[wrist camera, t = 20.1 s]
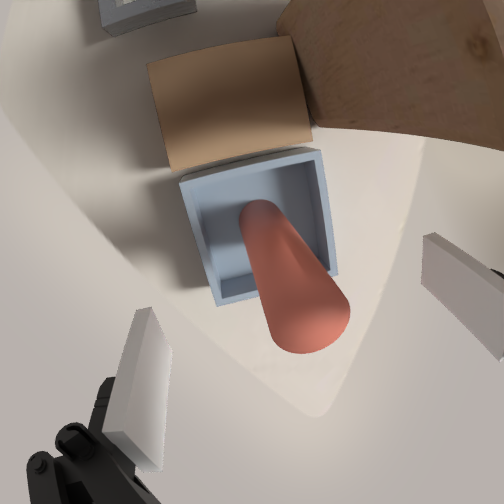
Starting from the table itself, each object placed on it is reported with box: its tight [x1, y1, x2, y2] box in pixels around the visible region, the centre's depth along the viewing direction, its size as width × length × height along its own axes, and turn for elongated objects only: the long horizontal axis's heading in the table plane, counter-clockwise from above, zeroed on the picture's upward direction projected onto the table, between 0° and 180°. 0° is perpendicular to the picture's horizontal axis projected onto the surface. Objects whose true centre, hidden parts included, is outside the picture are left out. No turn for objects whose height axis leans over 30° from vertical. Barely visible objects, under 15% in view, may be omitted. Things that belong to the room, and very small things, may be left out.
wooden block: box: [276, 0, 504, 151], centre depth 13 cm, size 10×10×20 cm
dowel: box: [239, 199, 350, 354], centre depth 19 cm, size 4×4×14 cm
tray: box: [179, 147, 338, 307], centre depth 25 cm, size 10×10×4 cm
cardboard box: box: [146, 35, 313, 172], centre depth 21 cm, size 8×10×4 cm
